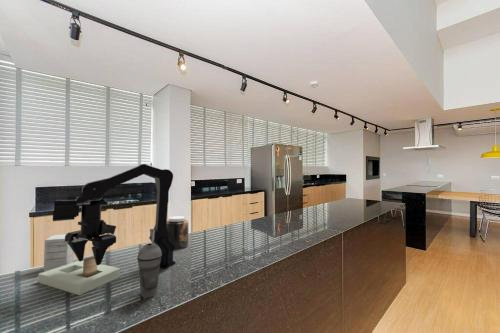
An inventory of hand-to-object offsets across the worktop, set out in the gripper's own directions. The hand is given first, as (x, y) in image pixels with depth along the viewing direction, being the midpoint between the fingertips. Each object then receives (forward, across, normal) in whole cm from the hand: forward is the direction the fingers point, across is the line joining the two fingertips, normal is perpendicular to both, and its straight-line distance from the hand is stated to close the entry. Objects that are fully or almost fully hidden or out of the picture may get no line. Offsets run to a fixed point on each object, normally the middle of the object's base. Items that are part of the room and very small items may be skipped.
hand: (89, 263), depth 80 cm
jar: (+7, -1, -44) cm, 45 cm away
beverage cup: (+7, -25, -2) cm, 26 cm away
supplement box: (+7, +23, -3) cm, 24 cm away
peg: (+7, 0, 0) cm, 7 cm away
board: (+7, +5, 0) cm, 8 cm away
